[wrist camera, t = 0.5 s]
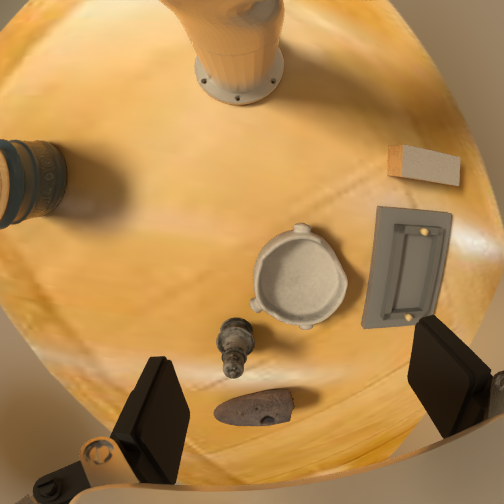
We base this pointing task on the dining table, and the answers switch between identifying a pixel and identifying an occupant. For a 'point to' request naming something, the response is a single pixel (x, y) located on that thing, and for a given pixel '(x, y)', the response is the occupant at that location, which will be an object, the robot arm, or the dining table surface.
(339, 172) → the dining table surface
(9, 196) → the canister
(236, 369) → the dark grey chess piece
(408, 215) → the switch frame
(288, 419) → the perforated stone tool
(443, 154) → the aluminium bar
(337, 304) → the dish
